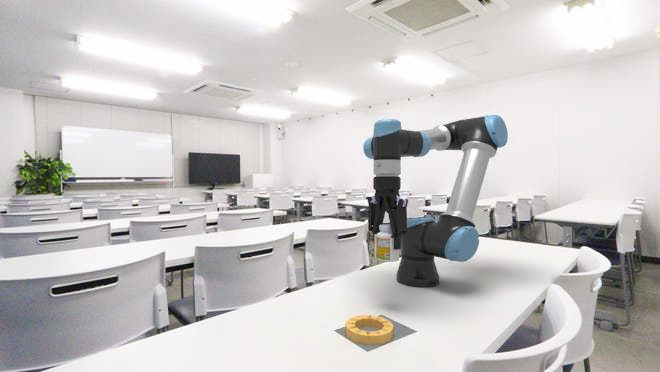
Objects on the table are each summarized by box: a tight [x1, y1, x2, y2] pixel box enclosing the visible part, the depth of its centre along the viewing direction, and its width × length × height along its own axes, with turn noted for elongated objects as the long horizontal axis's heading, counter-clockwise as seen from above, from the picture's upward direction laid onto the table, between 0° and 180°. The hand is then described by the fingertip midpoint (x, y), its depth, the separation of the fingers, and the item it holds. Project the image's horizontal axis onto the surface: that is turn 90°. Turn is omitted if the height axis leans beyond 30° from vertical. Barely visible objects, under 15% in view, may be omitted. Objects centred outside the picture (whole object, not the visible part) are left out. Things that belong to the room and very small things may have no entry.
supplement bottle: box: [376, 223, 392, 263], centre depth 91 cm, size 5×5×10 cm
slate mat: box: [334, 314, 418, 353], centre depth 78 cm, size 12×16×1 cm
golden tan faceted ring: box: [344, 314, 394, 345], centre depth 77 cm, size 11×11×2 cm
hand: (386, 258), depth 91 cm, fingers closed on supplement bottle, 5 cm apart
